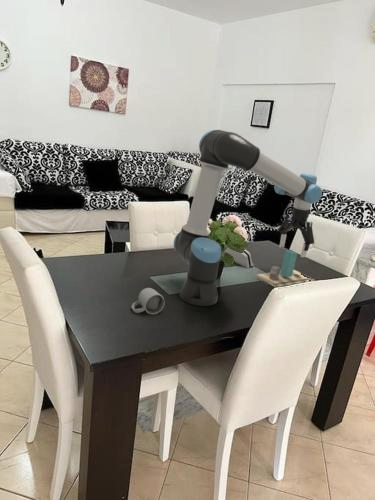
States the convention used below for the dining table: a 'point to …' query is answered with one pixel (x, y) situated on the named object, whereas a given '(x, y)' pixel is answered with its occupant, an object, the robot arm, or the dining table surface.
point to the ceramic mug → (149, 301)
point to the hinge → (241, 257)
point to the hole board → (282, 277)
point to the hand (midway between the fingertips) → (291, 251)
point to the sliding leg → (288, 263)
